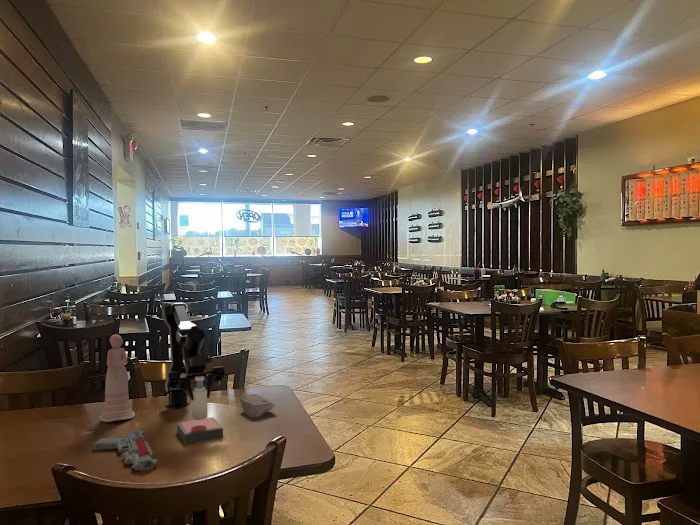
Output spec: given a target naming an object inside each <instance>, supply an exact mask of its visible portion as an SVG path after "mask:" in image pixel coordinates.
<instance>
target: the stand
mask: <svg viewBox="0 0 700 525" xmlns="http://www.w3.org/2000/svg"><path fill="white" fill-rule="evenodd" d="M176 431H177V434H178V435H179V437H180V439H181V440H182V441H183V443H184V444H185V445H187V444H192V443H200V442H205V441H210V440H215V439H220V438H224V428H223V427H222V425H221V424H220V423H219V422H218V421H217V420H216V419H215V418H214V417H207V418H205V419H202V420H194V419H192V420H189V421H188V420H187V421H181V422H177V423H176Z"/></svg>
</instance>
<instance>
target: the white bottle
mask: <svg viewBox="0 0 700 525" xmlns="http://www.w3.org/2000/svg"><path fill="white" fill-rule="evenodd" d="M194 381H195V385H196V386H194V387H193V388H194V389H191V390H192V393H193V401H192V400H191V419H192V420H202V419H205V418H208V398H207V389H206V388H205V385H204V381H205V378H204V376H196V377H195V379H194Z"/></svg>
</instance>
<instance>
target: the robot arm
mask: <svg viewBox="0 0 700 525" xmlns="http://www.w3.org/2000/svg"><path fill="white" fill-rule="evenodd" d="M161 310H162V311H161V313H162V314H161V317H162V318H163V321H164V322H163V323H164V324H165V325H166V326H167V328H168V330H169V332H168V334H169V346H170V360H171V361H170V362H171V363H170V364H171V366H170V368H169V370H168V372H167V375H166V380H165V383H164V390H165V392H166V393H168V404H166V405H165V407H167V408H171V409H181V408H183V407H185V406H189V405H190V402H188V398H189V400H191V402H192V401H193V393H192V390H193V389H192V386H191V383H192V380H195V377H196V376H204V379H205V382H204V387H205V389H207V399H209V398H210V397H211V396H210V394H211V388H212V385H213V384H215V382H222V381H223V380H224V377H225V374H226V369H225V367H224V366H223V365H220V366H218V365H217V366H213V367H212V368H211V371H205V370H206V369H207V367H206V366H207V365H208V364H211V363H212V361H213V359H212V358H213V356H212V354H211V352H208V353H207V352H206V353H204V354H202V355H201V349H202V346H203V344H204V340H205V336H206V334H205V332H204V331H203V330H202V329H201V328H198V325H196V324H195V323H193V322H191V320H190V316H189V314H188V312H187V305H186V303H184V302H172V303H171V304H168V305H166V306H164V307H163V308H162V309H161Z"/></svg>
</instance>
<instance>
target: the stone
mask: <svg viewBox="0 0 700 525" xmlns="http://www.w3.org/2000/svg"><path fill="white" fill-rule="evenodd" d="M239 401H240V403H241V408H242V411H243V412H244V413H245V415H246V416H248V417H249V418H251V419H253V418H254V419H255V418H256V419H257V418H261V417H262V416H263V415H264V414H266V413H267V412H269V411H271V410H272V409H273V408H274V407H275V406H276V405H275V404H274V403H273V402H272V401H271V400H270V399H269V398H266V397H264V396H262V395H258V393H257V394H256V393H250V394H243V395H240V397H239Z"/></svg>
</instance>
